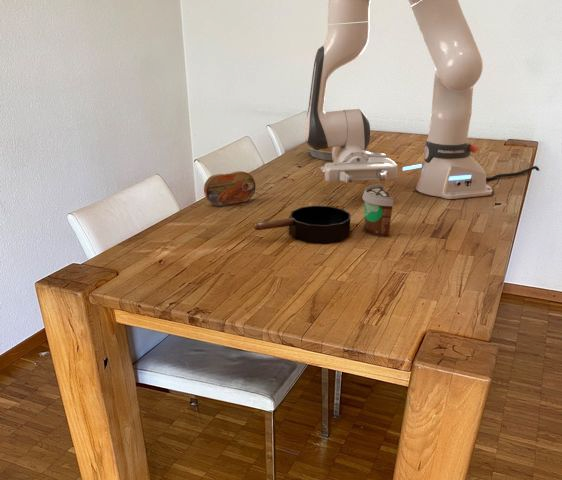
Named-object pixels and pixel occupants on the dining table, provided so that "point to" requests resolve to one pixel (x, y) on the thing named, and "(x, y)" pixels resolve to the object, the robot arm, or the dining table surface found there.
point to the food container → (377, 210)
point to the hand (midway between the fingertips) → (367, 179)
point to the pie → (321, 153)
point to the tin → (229, 188)
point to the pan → (314, 224)
